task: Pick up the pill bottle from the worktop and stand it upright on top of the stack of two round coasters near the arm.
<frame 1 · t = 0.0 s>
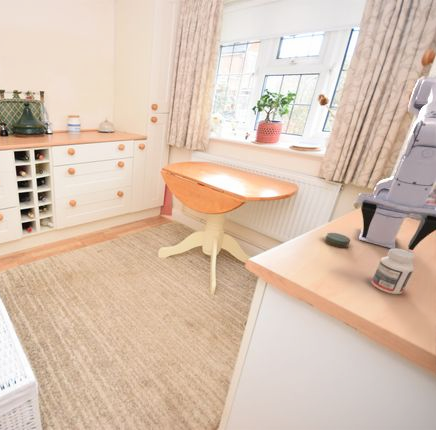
hand: (386, 241, 63), 10 cm above the counter, tool pointing down, fingers open, 7 cm apart
coaster stack: (336, 243, 84), on the counter
pill bottle: (385, 287, 65), on the counter
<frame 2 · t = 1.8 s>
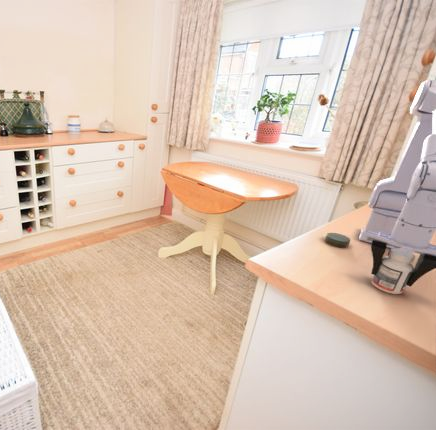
hand: (390, 278, 64), 2 cm above the counter, tool pointing down, fingers closed on pill bottle, 5 cm apart
pill bottle: (385, 287, 65), on the counter, touching gripper
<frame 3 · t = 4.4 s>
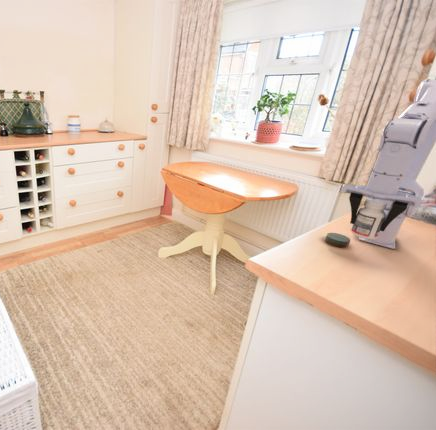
hand: (366, 226, 72), 9 cm above the counter, tool pointing down, fingers closed on pill bottle, 5 cm apart
pill bottle: (362, 235, 73), point 7 cm above the counter, touching gripper
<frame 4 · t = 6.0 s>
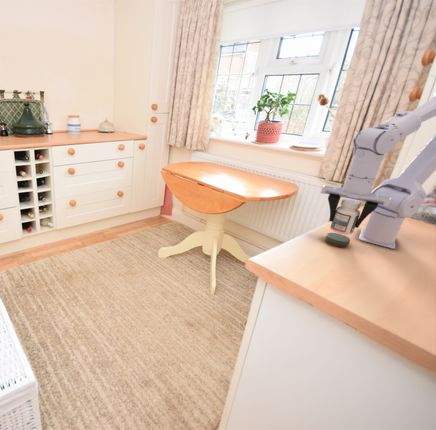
hand: (343, 223, 81), 6 cm above the counter, tool pointing down, fingers closed on pill bottle, 5 cm apart
pill bottle: (340, 231, 82), point 4 cm above the counter, touching gripper
when the fingers open (4 cm above the counter, at t = 7.1 s): pill bottle stays where it is, resting on coaster stack.
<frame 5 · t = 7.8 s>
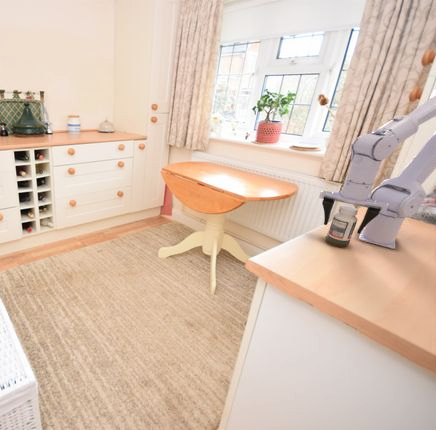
hand: (341, 228, 82), 5 cm above the counter, tool pointing down, fingers open, 7 cm apart
pill bottle: (338, 237, 83), point 2 cm above the counter, touching coaster stack
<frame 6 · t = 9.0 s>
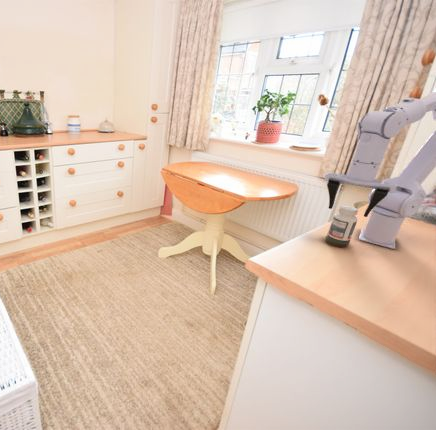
hand: (347, 211, 78), 10 cm above the counter, tool pointing down, fingers open, 7 cm apart
nothing on the counter moved.
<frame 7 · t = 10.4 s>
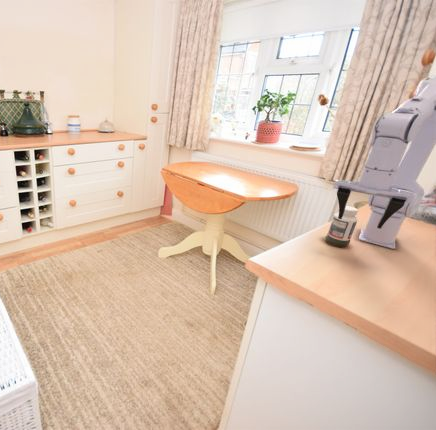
hand: (359, 222, 72), 10 cm above the counter, tool pointing down, fingers open, 7 cm apart
nothing on the counter moved.
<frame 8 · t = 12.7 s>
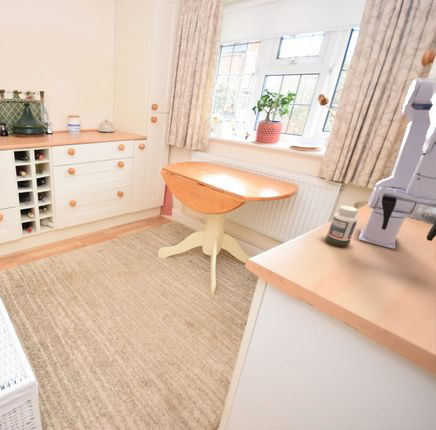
hand: (405, 233, 66), 10 cm above the counter, tool pointing down, fingers open, 7 cm apart
nothing on the counter moved.
at the end: pill bottle 0.0 cm off-centre on the coaster stack, point 1.8 cm above the coaster stack's base; pill bottle tilted 0°; pill bottle moved 20.8 cm from its start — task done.
